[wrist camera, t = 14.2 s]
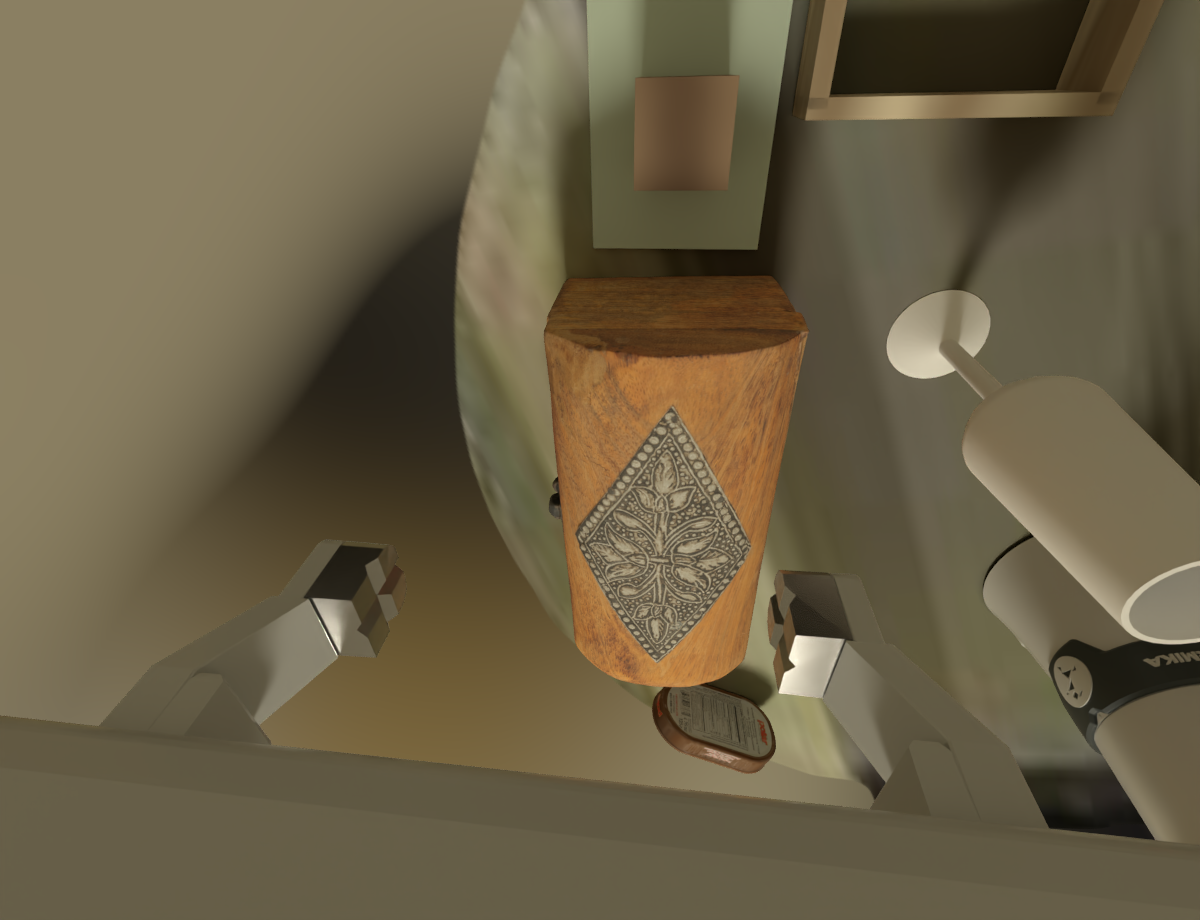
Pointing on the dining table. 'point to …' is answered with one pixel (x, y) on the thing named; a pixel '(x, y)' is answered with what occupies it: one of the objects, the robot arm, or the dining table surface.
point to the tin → (715, 726)
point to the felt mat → (682, 48)
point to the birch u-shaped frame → (1084, 89)
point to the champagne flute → (1070, 473)
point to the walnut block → (684, 132)
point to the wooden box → (668, 463)
